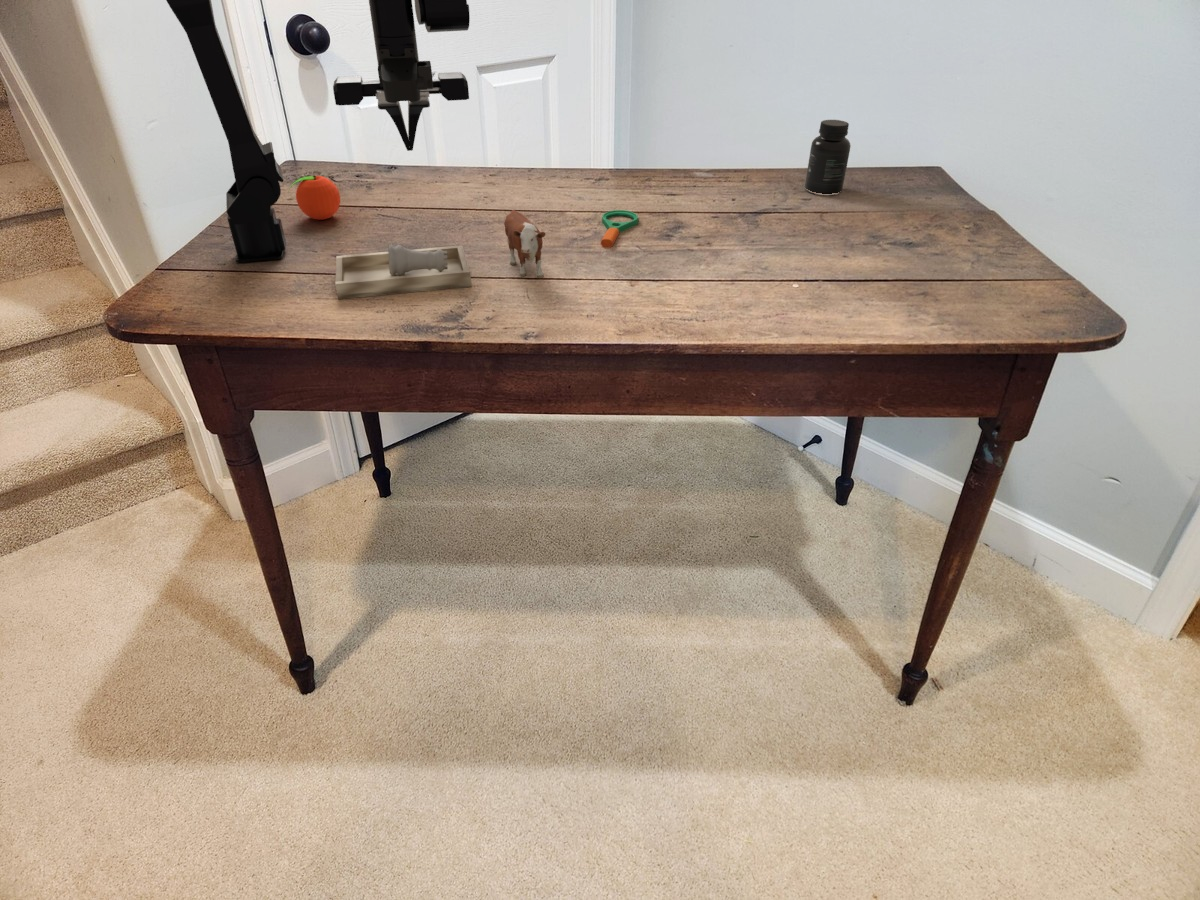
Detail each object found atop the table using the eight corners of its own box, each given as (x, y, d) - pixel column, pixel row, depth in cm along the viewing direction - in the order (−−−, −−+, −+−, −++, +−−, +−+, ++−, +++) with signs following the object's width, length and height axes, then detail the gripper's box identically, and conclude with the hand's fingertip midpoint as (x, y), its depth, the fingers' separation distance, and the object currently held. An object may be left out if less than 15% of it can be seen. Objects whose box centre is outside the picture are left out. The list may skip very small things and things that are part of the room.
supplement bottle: (800, 184, 150) (811, 117, 143) (837, 185, 150) (849, 118, 143) (808, 196, 144) (819, 127, 137) (845, 196, 144) (859, 127, 137)
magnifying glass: (606, 215, 136) (606, 205, 135) (640, 218, 135) (641, 208, 134) (587, 248, 124) (587, 237, 123) (625, 251, 123) (625, 241, 122)
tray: (338, 299, 107) (335, 284, 106) (339, 270, 115) (336, 255, 114) (471, 286, 111) (470, 271, 109) (463, 259, 119) (462, 245, 117)
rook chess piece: (389, 279, 110) (448, 279, 112) (387, 246, 108) (447, 246, 110) (390, 273, 114) (446, 273, 116) (388, 241, 112) (445, 242, 114)
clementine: (293, 228, 129) (283, 184, 124) (294, 213, 134) (285, 171, 130) (344, 223, 130) (336, 180, 126) (343, 209, 136) (335, 167, 132)
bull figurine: (520, 290, 110) (517, 233, 105) (503, 254, 120) (500, 201, 116) (551, 287, 111) (549, 231, 106) (531, 252, 121) (529, 199, 117)
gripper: (321, 46, 102) (344, 169, 111) (467, 41, 105) (477, 161, 114) (326, 32, 111) (346, 147, 120) (460, 28, 114) (470, 141, 123)
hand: (409, 149), depth 119 cm, fingers closed
